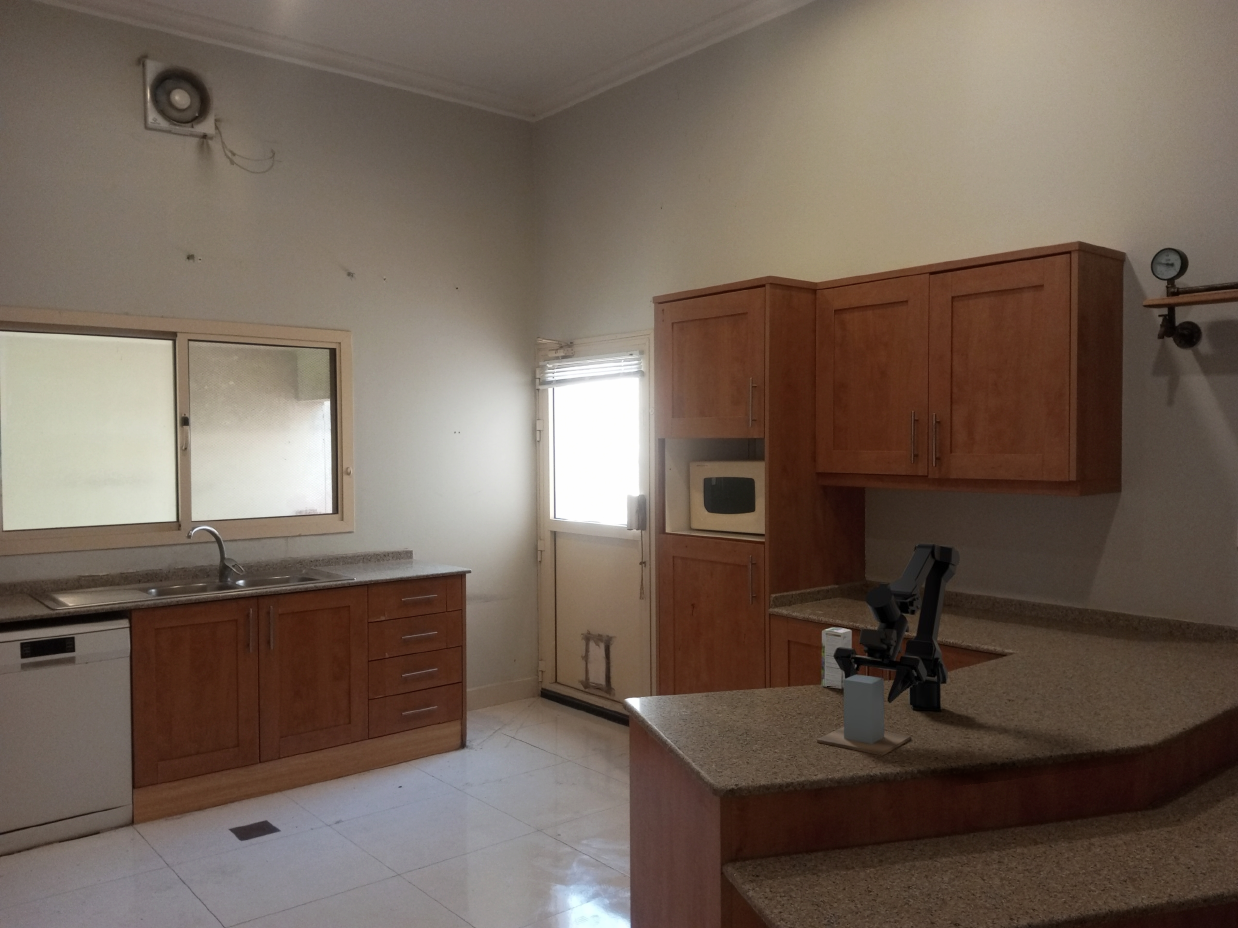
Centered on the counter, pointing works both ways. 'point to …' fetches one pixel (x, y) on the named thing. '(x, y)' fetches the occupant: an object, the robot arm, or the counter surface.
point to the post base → (878, 747)
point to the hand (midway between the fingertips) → (867, 698)
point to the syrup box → (830, 643)
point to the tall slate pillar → (864, 708)
